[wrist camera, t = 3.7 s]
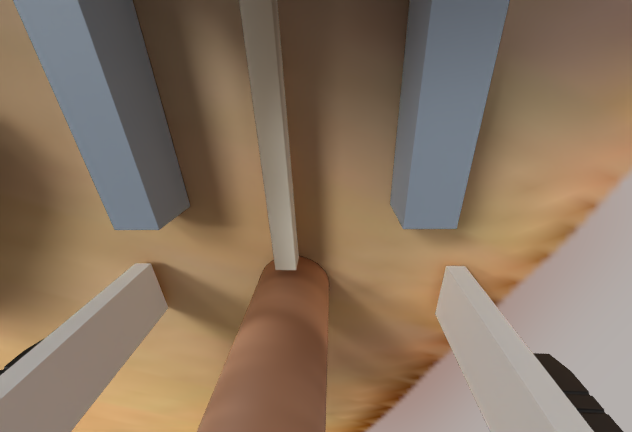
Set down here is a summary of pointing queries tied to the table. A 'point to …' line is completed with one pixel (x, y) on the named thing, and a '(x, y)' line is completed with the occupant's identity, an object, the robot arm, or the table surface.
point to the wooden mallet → (275, 277)
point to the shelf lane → (155, 140)
